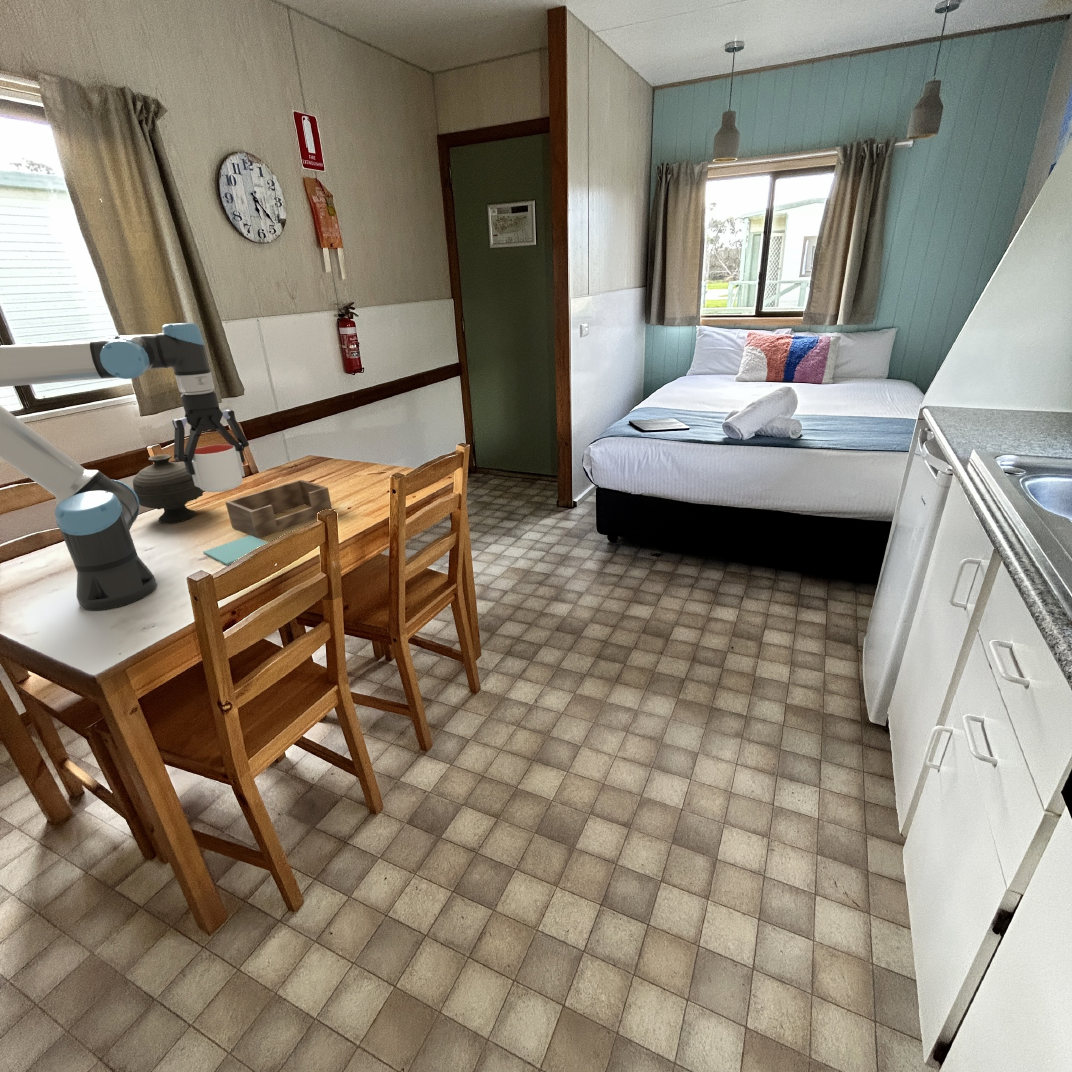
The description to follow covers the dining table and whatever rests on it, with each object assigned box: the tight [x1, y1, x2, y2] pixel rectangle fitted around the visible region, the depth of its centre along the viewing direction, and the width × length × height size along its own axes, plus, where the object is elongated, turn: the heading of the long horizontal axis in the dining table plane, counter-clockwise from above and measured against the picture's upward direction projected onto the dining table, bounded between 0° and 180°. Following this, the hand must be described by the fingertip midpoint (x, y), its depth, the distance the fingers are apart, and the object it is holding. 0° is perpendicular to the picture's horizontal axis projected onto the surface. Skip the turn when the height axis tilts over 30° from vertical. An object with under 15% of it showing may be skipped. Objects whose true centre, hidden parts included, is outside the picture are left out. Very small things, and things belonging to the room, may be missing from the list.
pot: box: [132, 453, 204, 524], centre depth 178 cm, size 18×18×20 cm
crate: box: [224, 479, 333, 539], centre depth 174 cm, size 24×15×8 cm, turn 142°
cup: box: [193, 443, 243, 493], centre depth 147 cm, size 10×10×10 cm
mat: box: [202, 535, 269, 566], centre depth 156 cm, size 13×13×1 cm
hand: (220, 480), depth 148 cm, fingers closed on cup, 10 cm apart
